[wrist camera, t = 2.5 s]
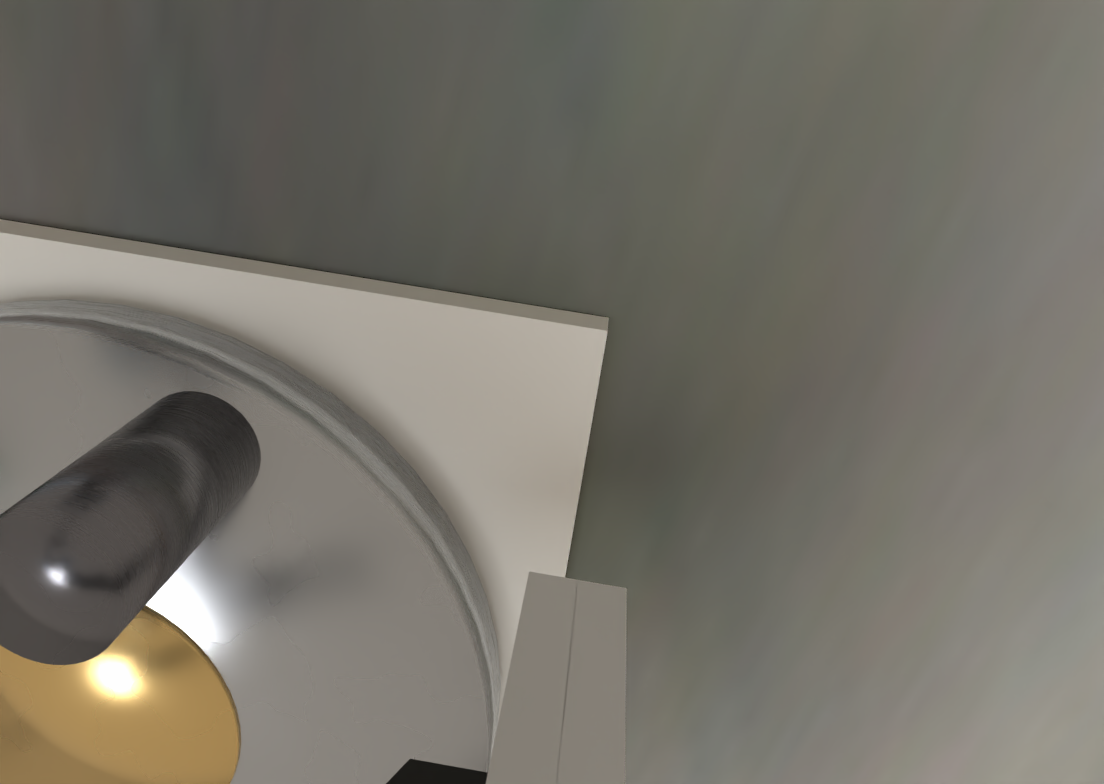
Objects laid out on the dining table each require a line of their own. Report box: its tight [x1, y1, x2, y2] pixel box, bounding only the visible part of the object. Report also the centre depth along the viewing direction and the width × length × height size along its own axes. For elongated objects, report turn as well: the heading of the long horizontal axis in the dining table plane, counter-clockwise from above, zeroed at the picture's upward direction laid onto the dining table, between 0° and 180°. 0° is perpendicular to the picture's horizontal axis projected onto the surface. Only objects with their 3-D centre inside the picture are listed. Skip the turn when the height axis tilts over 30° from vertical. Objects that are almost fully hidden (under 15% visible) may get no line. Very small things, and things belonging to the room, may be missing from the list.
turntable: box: [0, 299, 501, 784], centre depth 18 cm, size 18×18×7 cm
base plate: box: [0, 219, 609, 736], centre depth 21 cm, size 20×20×4 cm
